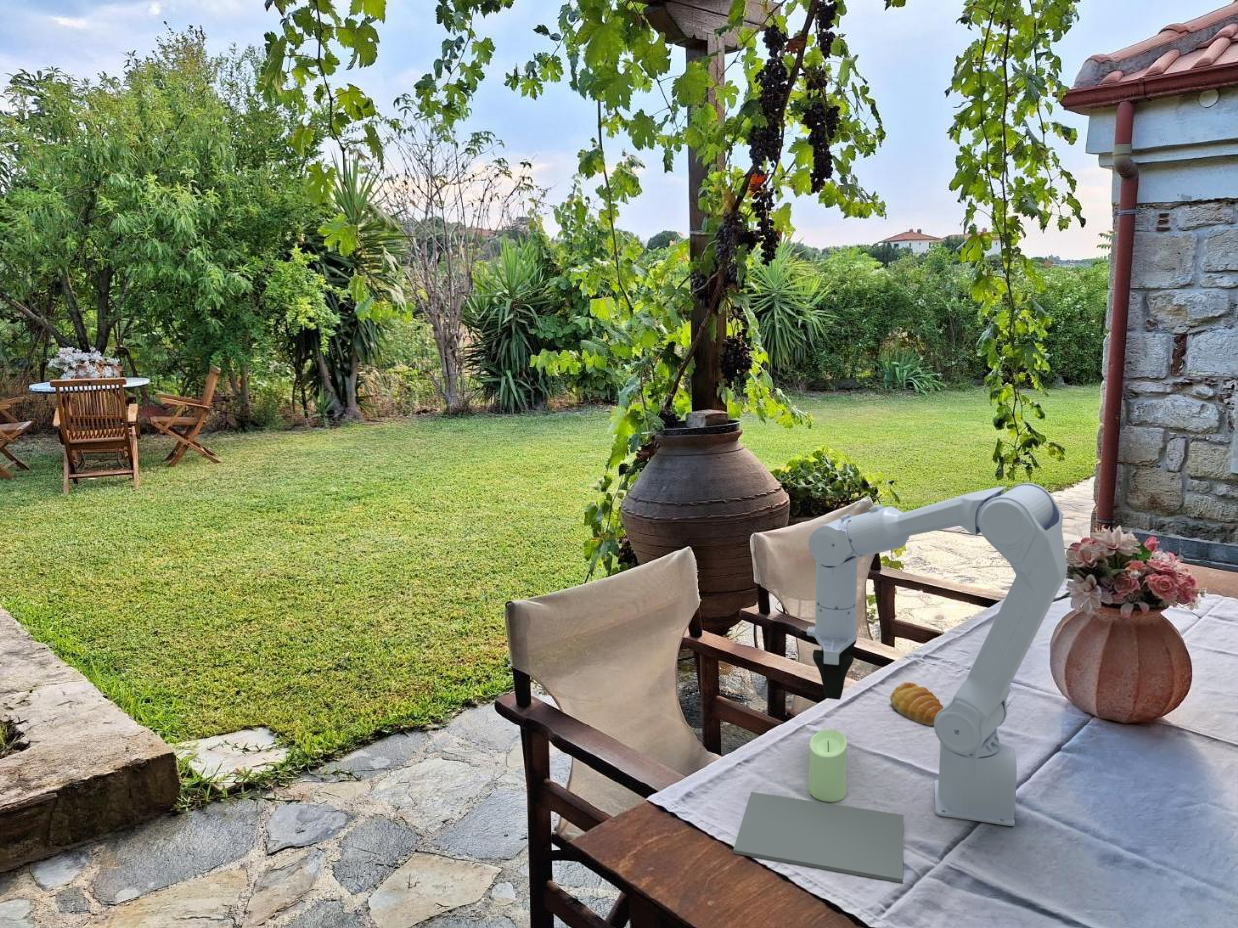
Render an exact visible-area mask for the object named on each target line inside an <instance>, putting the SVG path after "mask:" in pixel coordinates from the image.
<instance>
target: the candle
mask: <svg viewBox="0 0 1238 928" xmlns="http://www.w3.org/2000/svg"><path fill="white" fill-rule="evenodd" d="M847 754H848V740H847V738H846V736H845V735H844V733H842V732H840V731H838V730H836V729H832V728H831V729H829V728H828V729H821V730H820V731H816V733H814V734H813V735H812V737H811V738H810V740H809V762H808V764H809V765H808V766H809V774H808V778H809V779H808V791H809V793H810V794H811V796H813V798H815V799H817V800H819V801H821V802H822V801H823V802H825V803H833V802H834V803H835V802H839V801H841V800H843V799H844V798H845V797H846V795H847V774H848V773H847V768H848V767H847V765H848V761H847V759H848V758H847V757H848V755H847Z"/></svg>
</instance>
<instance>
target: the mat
mask: <svg viewBox="0 0 1238 928" xmlns="http://www.w3.org/2000/svg"><path fill="white" fill-rule="evenodd" d="M904 816H905V815H904V814H901V813H895V812H887V811H881V810H874V809H868V808H861V807H856V806H855V807H854V806H848V805H842V804H835V803H830V802H824V801H823V802H822V801H815V800H808V799H802V798H794V797H788V796H782V795H776V794H775V795H774V794H770V793H763V792H755V791H751V792H750V795H749V798H748V801H747V804H746V807H745V811H744V813H743V816H742V817H743V818H742V821H741V824H740V827H739V831H738V834H737V837H736V841H735V843H734V847H733V855H734V854H735V855H739V856H740V855H741V856H747V857H751V858H752V857H753V858H758V859H763V860H770V861H773V862H782V863H787V864H792V865H798V866H804V867H809V868H813V869H814V868H816V869H821V870H826V871H832V872H839V873H843V874H844V873H845V874H849V875H854V876H860V877H868V878H873V879H878V880H884V881H888V882H895V883H900V884H901V883H902V884H903V883H904V818H905V817H904Z"/></svg>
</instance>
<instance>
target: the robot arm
mask: <svg viewBox="0 0 1238 928" xmlns="http://www.w3.org/2000/svg"><path fill="white" fill-rule="evenodd" d="M1007 487H1008V486H999V487H992V488H988V489H987V488H986V489H982V490H978V491H973V492H968V493H965V494H962V495H958V496H956V497H952V498H949V499H946V500H942V501H938V502H935V503H931V504H928V505H925V506H921V507H918V508H916V509H912V510H908V511H905V512H903V511H901V510H899V509H898V508H896V507H894V506H886V507H883V504H877V505H873V506H871V507H869V511H868V512H865V513H860V514H857V515H852V516H851V514H850V513H847V514H844V515H842V516H840V517H839V518H837V519H834V520H833V521H830V522H828V523H826V524H823V525H821V526H819V527H818V528H815V530H813V531H812V532H811V534H810V536H809V538H808V549H809V553H810V555H811V556H812V557H813V559H814V560H815V608H814V609H815V613H814V614H815V615H814V616H815V621H814V623H815V624H814V626H808V627H807V629H806V635H807V636H808V637H814V638H815V639H816V642H817V644H818V645H819V646H820V648H821V649H813V652H812V659H813V662H814V664H815V666H816V667H817V670H818V672H819V675H820V679H821V683H822V689H823V693H824V697H825V699H828V700H841V699H842V696H843V691H844V686H845V682H846V677H847V674H848V672H849V669H850V668H851V667H852V665H853V663H854V659H855V655H851V653H852V651H853V648H854V647H855V645H856V644H857V639H858V631H857V594H858V593H857V590H858V586H857V585H858V583H857V582H858V581H857V580H858V579H857V578H858V559H859V558H864V557H867V556H871V555H875V554H880V553H885V552H888V551H893V550H897V549H901V548H903V547H904V546H905V545H906V543H907V542H908V539H909V538H910V537H911V536H914V535H915V536H916V535H921V534H925V533H926V534H927V533H930V532H935V531H941V530H944V529H951V528H955V527H956V528H957V527H962V528H963V529H965V530H966V531H967V532H968V533H970V534H971V535H973V536H978V535H979V534H981V535H982V536H983V538H984V539H986V541H987V542H988V543H989V544H990V545H991V547H993V548H994V549H995V550H996V551H997V552H998V553H999V554H1000V555H1001V556H1002V557H1003V558H1004V559H1005V560H1006V561H1007V562H1008V563H1009V564H1010V566H1011V568H1012V571H1013V572H1014V573H1015V578H1014V580H1013V582H1012V583H1011V586H1010V589H1009V590H1008V592H1007V594H1006V596H1005V599H1004V601H1003V603H1002V604H1001V607H1000V608H999V611H998V613H997V615H996V617H995V619H994V621H993V624H992V626H991V628H990V630H989V631H988V634H987V636H986V638H985V640H984V642H983V644H982V645H981V649H980V651H979V653H978V654H977V656H976V659H975V660H974V663H973V665H972V667H971V669H970V671H969V673H968V675H967V677H966V678H965V680H964V681H963V682H962V684H961V685H960V686H959V688H958V690H957V691H956V693H955V695H954V696H953V698H952V700H951V701H950V702H949V704H947V705H946V706H944V707H943V709H941V710H940V711H939V712H938V713H937V714H936V716H935V719H934V725H933V728H934V729H933V730H934V734H935V735H936V737H937V738H938V740H939V745H940V746H939V765H938V767H939V768H938V779H935V780H934V782H933V789H934V807H935V811H934V812H935V814H936V815H938V816H942V817H948V818H954V819H962V820H969V821H974V822H981V823H988V824H995V825H1002V826H1009V827H1014V826H1015V814H1016V813H1015V812H1016V811H1015V810H1016V801H1017V777H1018V776H1017V775H1018V773H1017V772H1018V770H1017V767H1018V765H1017V764H1018V763H1017V753H1016V748H1015V747H1014V746H1012V745H1007V744H1004V743H1001V742H1000V739H999V735H998V728H999V727H1000V726H1001V725H1002V724H1003V723H1004V722H1005V720H1006V719H1007V715H1008V708H1007V700H1008V697H1009V695H1010V693H1011V688H1010V686H1011V685H1012V682H1013V680H1014V678H1015V677H1016V674H1017V673H1018V671H1019V669H1020V667H1021V665H1022V662H1023V660H1024V659H1025V657H1026V655H1027V653H1028V651H1029V649H1030V647H1031V645H1032V643H1033V641H1034V639H1035V637H1036V635H1037V633H1038V632H1039V630H1040V628H1041V625H1042V623H1044V619H1045V618H1046V616H1047V614H1048V612H1049V610H1050V608H1051V606H1052V604H1053V602H1054V600H1055V598H1056V596H1057V594H1058V592H1059V590H1060V589H1061V586H1062V585H1063V582H1064V581H1065V579H1066V576H1067V573H1068V562H1067V556H1066V549H1065V544H1064V543H1065V542H1064V536H1063V534H1064V533H1063V521H1064V520H1063V519H1064V513H1063V511H1062V510H1061V509H1060V506H1059V505H1058V504H1057V502H1056V500H1055V499H1054V498H1053V495H1051V493H1050V492H1049V491H1048V490H1047V489H1046V488H1045V487H1042V485H1039V484H1037V483H1033V482H1031V483H1030V482H1023V483H1017V484H1015V485H1014V486H1012V487H1011V488H1009V489H1008V490H1007V491H1006V492H1004V491H1005V490H1006V489H1007ZM1003 492H1004V493H1003Z"/></svg>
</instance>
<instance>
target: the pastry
mask: <svg viewBox="0 0 1238 928" xmlns="http://www.w3.org/2000/svg"><path fill="white" fill-rule="evenodd" d="M889 699H890V703H891V704H892V707H893V708H894V710H896V711H897V712H898V713H899V714H900V715H902V716H904V717H906V718H908V719H910V720H912V721H914V722H916V723H919V724H921V725H926V726H929V727H930V726H934V719H935V716H936V714H937V713H938V712H939V711H940V710H941V709H943V708H944V706H943V704H941V702H940V700H939V699H938V698H937V697H936V696H935V694H934V693H933V692H932V691H929V689H928V688H926V687H925V686H918V685H917V684H916V683H914V682H902V683H901V684H900V685H899V686H897V687H895V689H894V690H893V691H892V693H891V695H890V696H889Z"/></svg>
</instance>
